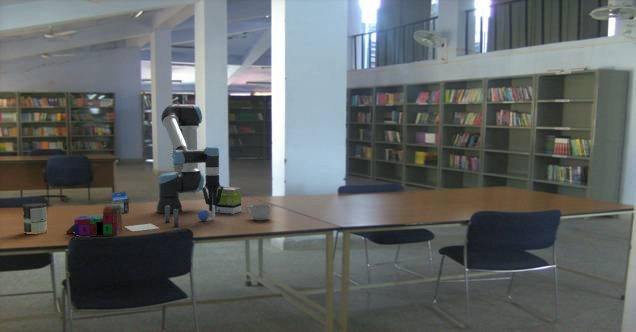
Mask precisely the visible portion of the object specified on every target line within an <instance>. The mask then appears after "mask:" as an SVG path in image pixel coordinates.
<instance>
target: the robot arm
mask: <svg viewBox="0 0 636 332" xmlns="http://www.w3.org/2000/svg"><path fill="white" fill-rule="evenodd" d="M202 121H203V113H202V110H201V108H200V106H199V105H198V104H189V103H188V104H187V103H186V104H180V103H179V104H176V103H172V104H169V105H168V106H167V107H166V108H164V109H163V111H162V112H161V124H162V126H163V128H165V129H166V131H167V135H168V137H169V139H170V142H171V145H172V148H173V152H172V161H173V163H174V164H179V165H180V164H182V166H183V168H182V169H181V171H180V173H179V172H177V171H173V172H165V173H162V174H159V176H158V202H157V204H156V205H157V206H156V213H157V214H158V213H159V214H165V206H170V214H173V209H178V211H179V213H180V212H183V206H182V203H181V200H180V194H189V193H193V194H195V193H199V192H200V193H201V191H202V193H203V199H204V202H205V204H206V205H208V210H209V211H208V212H210V217H212V218H216V212H215V211H216V205H217V204H219V203H220V199H221V194H222V190H223V188H224V187H225V186H222V185H221V184H220V175H219V174H220V149H219V147H218V146H206V147H205V148H202V149H198V139H197V137H198V132H197V130H198V128H199V127H200V124H201V123H202ZM199 164H205V165H204V166H205V167H204V168H205V169H204V170H205V172H204V173H205V177H204V174H203V173H202V172H201V169H200V168H199V166H198V165H199ZM218 188H219V189H218ZM217 189H218V194H217ZM212 193H213V201H212Z"/></svg>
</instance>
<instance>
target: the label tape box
mask: <svg viewBox="0 0 636 332" xmlns="http://www.w3.org/2000/svg"><path fill="white" fill-rule="evenodd" d="M129 202H130V201H129V198H128V197H127V191H121V192H120V191H119V192H118V191H117V192H111V205H120V207H121V213H122V214H124V213H129V212H130V206H129V205H130V203H129Z"/></svg>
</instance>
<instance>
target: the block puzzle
mask: <svg viewBox="0 0 636 332" xmlns="http://www.w3.org/2000/svg"><path fill="white" fill-rule="evenodd" d="M122 214H123V213H121V207H120V205H112V204H108V205H107V204H106V205H104V206H103V210H102V214H84V215H83V214H82V215H81V214H80V215H79V216H78V217H76V218H75V219H74V224H73V225H71V227H70V228H68V230H67V231H65V232H66V233H73V232H75V234H74V236H75V235H97V236H98V230H101V232H102V233H103V235H106V236H118V235H119V234H120V233H121V232H122V231H123V223H122V222H123V217H122V216H123V215H122Z"/></svg>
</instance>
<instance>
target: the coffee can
mask: <svg viewBox="0 0 636 332" xmlns="http://www.w3.org/2000/svg"><path fill="white" fill-rule="evenodd" d="M22 211H23V214H22V216H23V230H24V232H42V231H46V230H47V231H48V227H47V226H48V221H47V219H48V217H47V203H45V202H33V203H31V202H30V203H25V204H22Z"/></svg>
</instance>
